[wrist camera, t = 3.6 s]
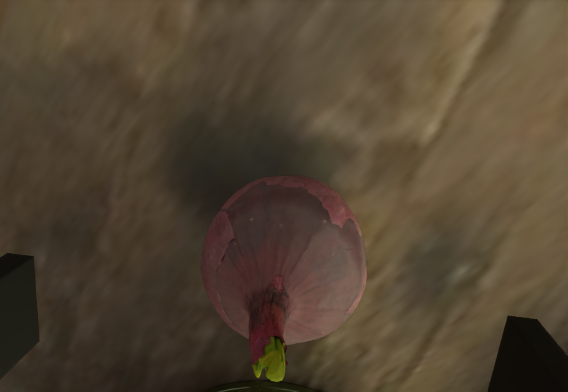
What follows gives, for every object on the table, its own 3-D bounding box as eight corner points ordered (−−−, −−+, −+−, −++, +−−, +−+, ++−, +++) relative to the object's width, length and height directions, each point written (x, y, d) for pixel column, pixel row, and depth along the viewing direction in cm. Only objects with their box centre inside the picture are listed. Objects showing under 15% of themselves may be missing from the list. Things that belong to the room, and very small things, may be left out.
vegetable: (253, 301, 22) (194, 490, 12) (202, 182, 20) (90, 292, 11) (378, 265, 21) (419, 442, 11) (333, 136, 19) (337, 213, 10)
